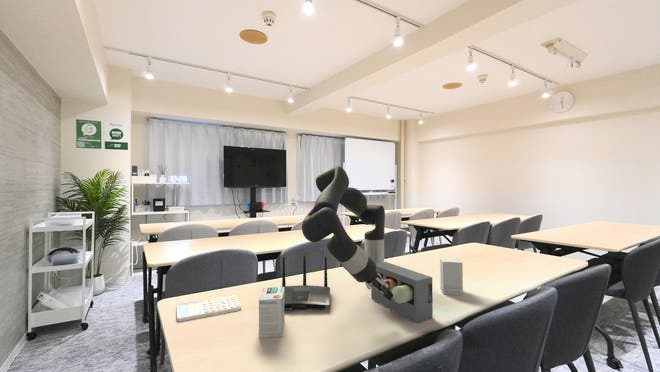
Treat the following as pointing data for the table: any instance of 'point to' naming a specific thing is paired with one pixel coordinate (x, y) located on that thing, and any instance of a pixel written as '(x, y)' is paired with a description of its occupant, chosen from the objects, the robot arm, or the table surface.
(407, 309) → the button panel
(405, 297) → the sage button
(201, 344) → the table surface
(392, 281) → the terracotta button
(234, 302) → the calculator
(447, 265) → the supplement box
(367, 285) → the cream button
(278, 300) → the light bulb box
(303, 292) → the router
